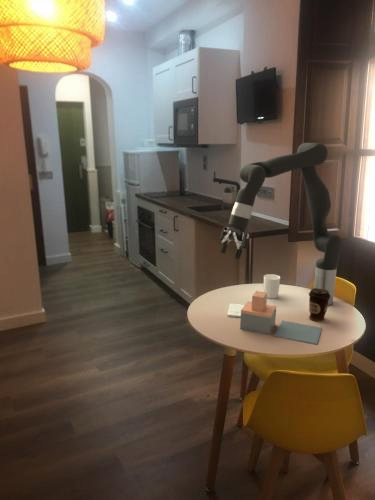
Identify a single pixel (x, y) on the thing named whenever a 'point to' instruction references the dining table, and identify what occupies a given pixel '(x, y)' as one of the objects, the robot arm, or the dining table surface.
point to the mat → (298, 332)
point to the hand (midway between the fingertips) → (229, 255)
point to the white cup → (271, 285)
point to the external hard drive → (235, 310)
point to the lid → (259, 306)
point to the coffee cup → (318, 304)
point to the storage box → (257, 323)
